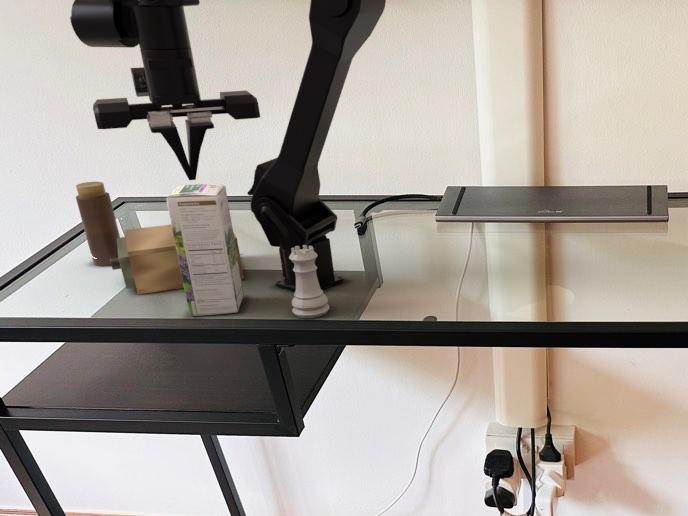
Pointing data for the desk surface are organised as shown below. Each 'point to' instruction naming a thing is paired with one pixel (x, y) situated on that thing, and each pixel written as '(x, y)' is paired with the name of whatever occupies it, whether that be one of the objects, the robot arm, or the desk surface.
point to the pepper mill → (98, 221)
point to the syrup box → (206, 248)
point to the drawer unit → (157, 259)
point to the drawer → (123, 263)
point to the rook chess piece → (307, 285)
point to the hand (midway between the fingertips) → (192, 179)
